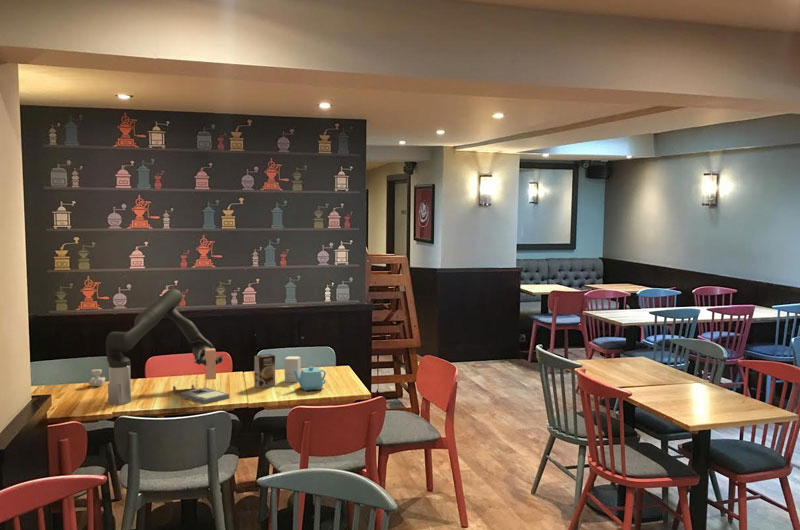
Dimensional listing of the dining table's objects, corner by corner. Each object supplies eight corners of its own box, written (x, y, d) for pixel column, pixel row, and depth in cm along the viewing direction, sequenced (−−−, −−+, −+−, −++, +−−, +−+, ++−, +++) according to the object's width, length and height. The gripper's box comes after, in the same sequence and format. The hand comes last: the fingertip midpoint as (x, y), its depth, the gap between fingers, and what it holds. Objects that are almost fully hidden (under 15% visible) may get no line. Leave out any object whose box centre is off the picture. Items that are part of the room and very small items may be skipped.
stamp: (102, 387, 331) (101, 371, 331) (88, 388, 330) (87, 372, 329) (106, 383, 340) (105, 367, 339) (92, 384, 338) (92, 368, 338)
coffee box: (259, 388, 331) (259, 357, 330) (254, 386, 336) (253, 355, 335) (275, 385, 337) (275, 355, 336) (269, 383, 342) (269, 353, 341)
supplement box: (301, 379, 352) (301, 356, 351) (297, 382, 345) (297, 359, 344) (287, 378, 353) (287, 355, 352) (284, 382, 346) (284, 358, 345)
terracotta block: (216, 378, 309) (215, 350, 308) (206, 379, 307) (205, 350, 306) (214, 376, 313) (214, 348, 312) (205, 377, 311) (204, 348, 310)
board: (229, 398, 313) (229, 393, 312) (204, 404, 302) (203, 399, 302) (205, 391, 325) (205, 386, 325) (180, 396, 315) (180, 392, 314)
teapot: (288, 387, 334) (288, 365, 334) (323, 384, 340) (323, 363, 340) (293, 393, 323) (293, 370, 322) (328, 390, 329) (328, 368, 328)
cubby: (195, 392, 322) (195, 388, 322) (174, 394, 319) (174, 390, 318) (193, 388, 331) (193, 384, 331) (172, 390, 327) (172, 386, 327)
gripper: (191, 349, 320) (195, 356, 304) (221, 347, 325) (226, 354, 310) (191, 364, 320) (195, 372, 304) (221, 362, 326) (226, 369, 310)
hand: (211, 363), depth 307 cm, fingers closed on terracotta block, 4 cm apart
